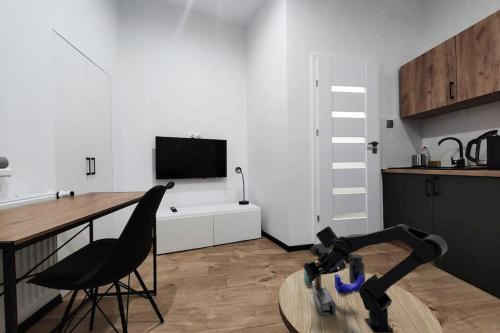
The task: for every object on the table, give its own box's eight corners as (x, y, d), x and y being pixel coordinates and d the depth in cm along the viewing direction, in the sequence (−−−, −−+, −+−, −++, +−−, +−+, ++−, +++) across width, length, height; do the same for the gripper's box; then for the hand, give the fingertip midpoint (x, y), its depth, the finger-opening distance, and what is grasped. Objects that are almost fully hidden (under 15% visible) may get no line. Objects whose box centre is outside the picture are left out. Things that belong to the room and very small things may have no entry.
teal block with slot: (319, 283, 112) (319, 273, 112) (306, 284, 112) (306, 273, 112) (316, 279, 117) (316, 268, 117) (304, 279, 117) (303, 268, 117)
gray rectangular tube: (335, 315, 88) (335, 303, 88) (320, 315, 88) (320, 304, 88) (326, 297, 100) (325, 287, 100) (313, 298, 100) (312, 287, 100)
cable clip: (338, 292, 104) (337, 278, 104) (334, 287, 109) (334, 274, 109) (366, 292, 104) (366, 278, 104) (362, 287, 108) (361, 273, 108)
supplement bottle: (346, 279, 116) (345, 254, 116) (357, 277, 118) (356, 252, 118) (357, 286, 109) (356, 259, 109) (368, 283, 112) (367, 257, 112)
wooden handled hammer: (330, 310, 90) (329, 274, 90) (322, 310, 90) (321, 274, 90) (318, 286, 108) (317, 256, 108) (311, 286, 108) (310, 256, 108)
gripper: (339, 235, 104) (321, 254, 113) (305, 243, 95) (289, 262, 105) (355, 260, 97) (334, 277, 106) (321, 270, 88) (301, 288, 98)
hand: (315, 275), depth 104 cm, fingers open, 6 cm apart
